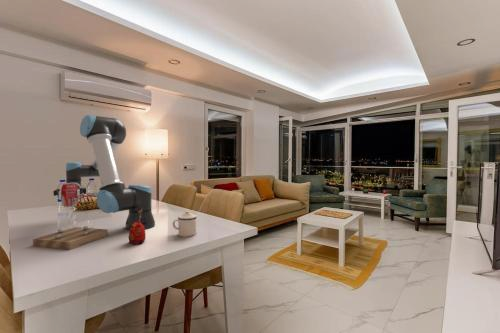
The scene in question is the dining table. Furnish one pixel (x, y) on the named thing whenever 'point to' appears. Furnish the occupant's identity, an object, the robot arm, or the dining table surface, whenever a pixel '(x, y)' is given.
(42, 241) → the peg riser
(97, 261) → the dining table surface
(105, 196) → the robot arm
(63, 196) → the soda can
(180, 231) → the teacup with lid
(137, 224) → the red clay folk toy
